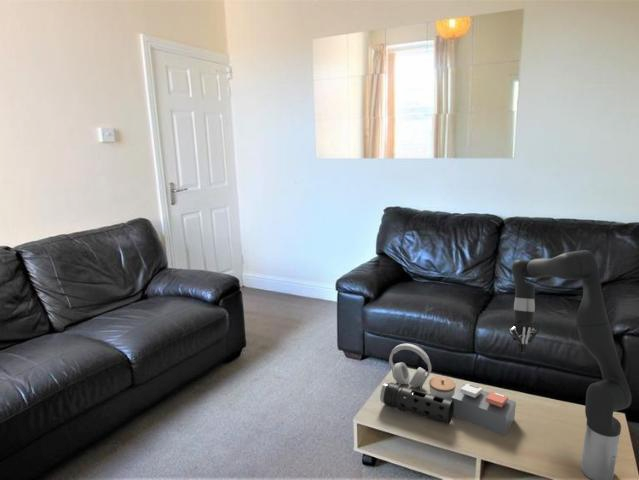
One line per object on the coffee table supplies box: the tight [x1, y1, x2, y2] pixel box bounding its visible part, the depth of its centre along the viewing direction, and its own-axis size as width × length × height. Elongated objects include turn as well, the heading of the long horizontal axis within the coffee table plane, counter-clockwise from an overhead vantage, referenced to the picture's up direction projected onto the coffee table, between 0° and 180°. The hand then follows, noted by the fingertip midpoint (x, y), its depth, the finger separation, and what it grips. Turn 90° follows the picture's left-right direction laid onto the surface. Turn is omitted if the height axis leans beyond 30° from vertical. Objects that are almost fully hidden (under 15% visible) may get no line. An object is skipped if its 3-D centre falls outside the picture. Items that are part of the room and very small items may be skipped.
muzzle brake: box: [379, 382, 454, 425], centre depth 177 cm, size 10×28×10 cm, turn 59°
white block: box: [460, 383, 483, 398], centre depth 175 cm, size 6×8×2 cm
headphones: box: [388, 342, 432, 390], centre depth 195 cm, size 19×8×20 cm, turn 60°
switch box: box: [451, 383, 517, 437], centre depth 173 cm, size 21×12×9 cm, turn 51°
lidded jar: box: [428, 375, 457, 400], centre depth 186 cm, size 11×11×9 cm
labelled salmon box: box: [485, 391, 509, 407], centre depth 169 cm, size 6×8×2 cm
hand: (521, 353), depth 175 cm, fingers closed
